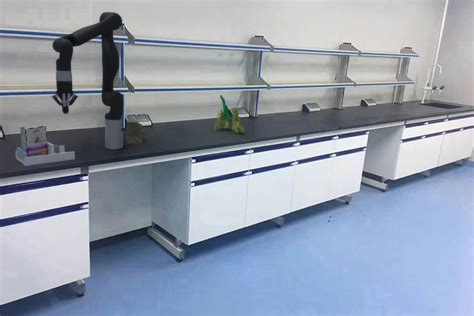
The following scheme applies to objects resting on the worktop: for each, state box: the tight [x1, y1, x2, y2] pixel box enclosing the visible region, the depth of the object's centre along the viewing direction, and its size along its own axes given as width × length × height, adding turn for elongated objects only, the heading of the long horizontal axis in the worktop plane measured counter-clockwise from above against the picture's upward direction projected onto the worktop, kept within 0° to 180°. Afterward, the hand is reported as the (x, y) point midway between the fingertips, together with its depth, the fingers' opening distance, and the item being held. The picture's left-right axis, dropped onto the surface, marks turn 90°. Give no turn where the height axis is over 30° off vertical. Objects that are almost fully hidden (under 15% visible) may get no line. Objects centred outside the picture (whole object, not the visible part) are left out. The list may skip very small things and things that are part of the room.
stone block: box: [125, 118, 144, 145], centre depth 253 cm, size 10×15×15 cm
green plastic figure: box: [213, 94, 246, 136], centre depth 297 cm, size 26×17×30 cm, turn 52°
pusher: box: [47, 140, 60, 155], centre depth 208 cm, size 5×12×7 cm, turn 44°
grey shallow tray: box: [15, 145, 76, 167], centre depth 206 cm, size 24×14×6 cm, turn 134°
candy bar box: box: [19, 123, 48, 157], centre depth 202 cm, size 11×5×16 cm, turn 148°
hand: (65, 113), depth 208 cm, fingers closed
